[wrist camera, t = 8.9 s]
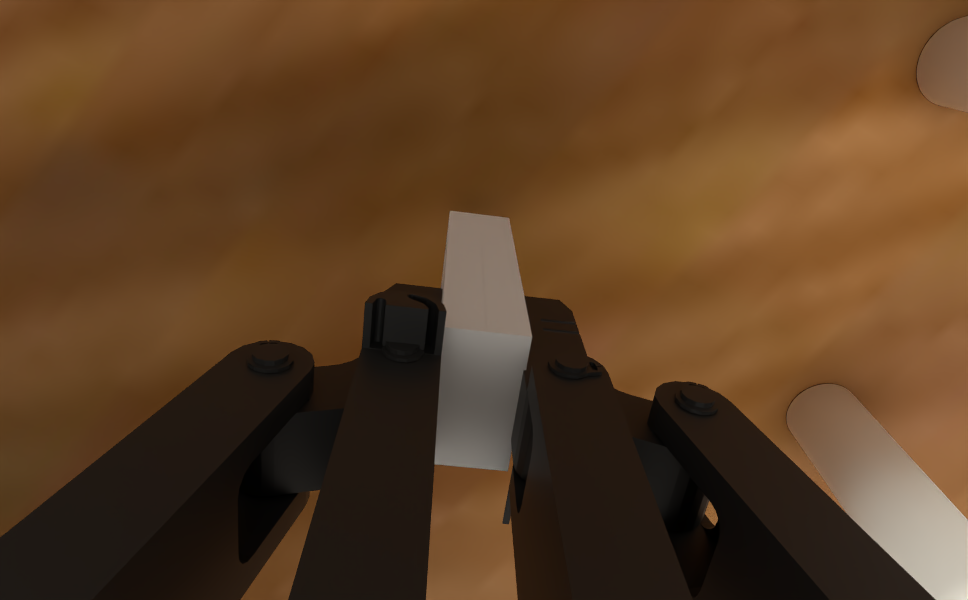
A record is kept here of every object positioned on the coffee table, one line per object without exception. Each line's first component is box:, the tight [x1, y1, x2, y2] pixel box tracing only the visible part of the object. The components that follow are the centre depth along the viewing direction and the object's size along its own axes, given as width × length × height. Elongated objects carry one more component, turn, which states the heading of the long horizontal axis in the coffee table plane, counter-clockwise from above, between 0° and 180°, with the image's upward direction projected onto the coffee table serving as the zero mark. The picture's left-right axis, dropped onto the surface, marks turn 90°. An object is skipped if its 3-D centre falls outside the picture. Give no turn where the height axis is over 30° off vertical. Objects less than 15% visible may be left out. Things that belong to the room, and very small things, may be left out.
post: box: [786, 384, 968, 600], centre depth 21 cm, size 3×3×9 cm
